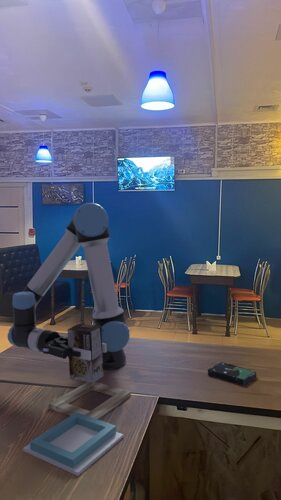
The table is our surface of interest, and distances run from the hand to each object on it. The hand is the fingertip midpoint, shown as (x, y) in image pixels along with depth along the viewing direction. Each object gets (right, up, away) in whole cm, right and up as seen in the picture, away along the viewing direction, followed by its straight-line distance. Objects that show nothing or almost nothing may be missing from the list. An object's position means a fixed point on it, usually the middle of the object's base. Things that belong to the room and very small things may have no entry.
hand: (98, 351), depth 115 cm
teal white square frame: (-4, -19, -19) cm, 27 cm away
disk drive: (+47, -16, +24) cm, 55 cm away
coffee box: (-4, -9, +3) cm, 10 cm away
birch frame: (-3, -17, +4) cm, 18 cm away
